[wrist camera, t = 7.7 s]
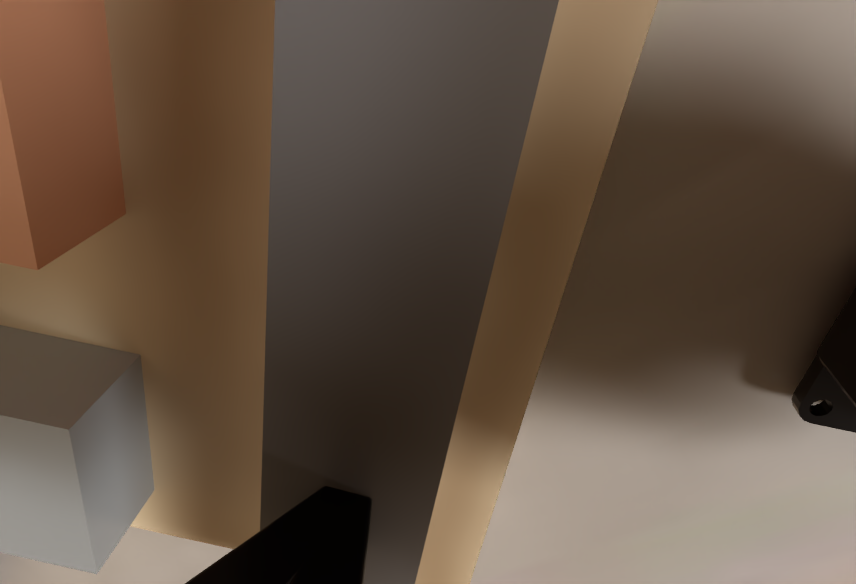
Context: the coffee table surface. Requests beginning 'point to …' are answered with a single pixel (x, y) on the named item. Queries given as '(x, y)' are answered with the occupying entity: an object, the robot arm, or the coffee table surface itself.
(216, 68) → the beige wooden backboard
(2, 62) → the terracotta tile
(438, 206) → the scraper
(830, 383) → the robot arm
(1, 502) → the grey square block
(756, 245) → the coffee table surface
